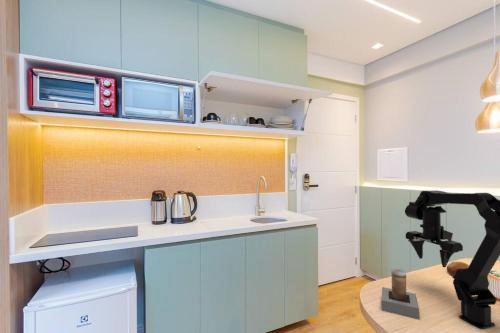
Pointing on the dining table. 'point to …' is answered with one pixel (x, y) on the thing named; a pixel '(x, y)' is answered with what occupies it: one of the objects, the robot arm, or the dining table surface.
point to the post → (399, 285)
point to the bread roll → (455, 267)
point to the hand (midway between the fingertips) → (432, 262)
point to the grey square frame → (400, 304)
